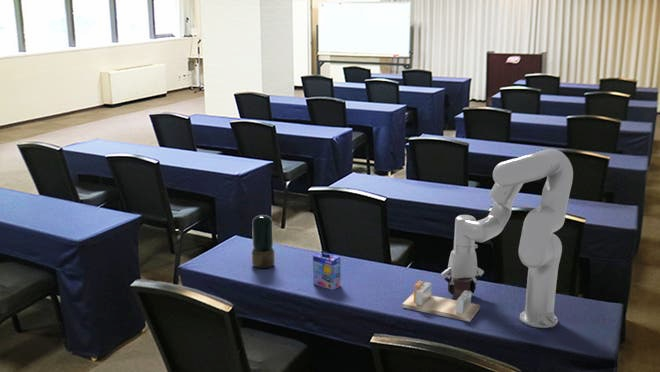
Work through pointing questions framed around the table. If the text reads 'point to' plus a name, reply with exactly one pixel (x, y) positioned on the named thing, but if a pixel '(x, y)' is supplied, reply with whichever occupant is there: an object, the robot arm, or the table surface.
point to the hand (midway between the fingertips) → (461, 292)
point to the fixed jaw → (463, 302)
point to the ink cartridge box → (326, 270)
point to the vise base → (441, 307)
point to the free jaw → (422, 292)
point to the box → (461, 286)
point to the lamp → (262, 242)
